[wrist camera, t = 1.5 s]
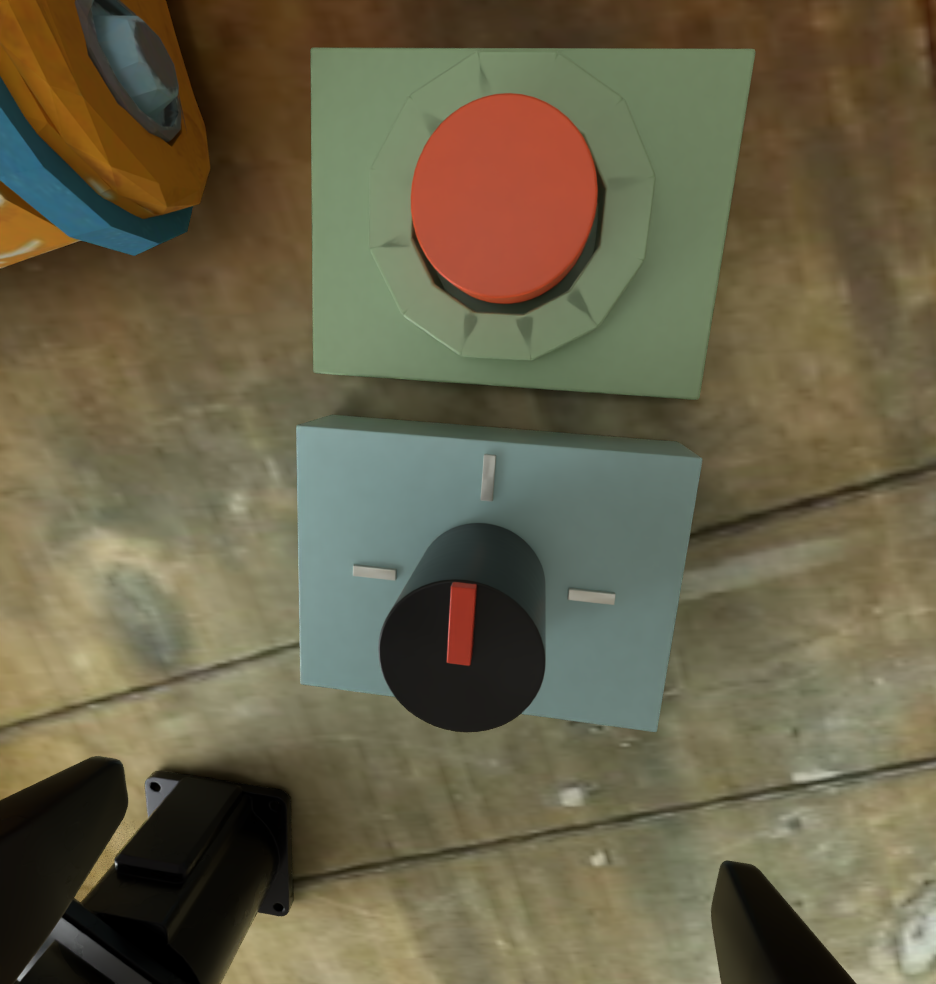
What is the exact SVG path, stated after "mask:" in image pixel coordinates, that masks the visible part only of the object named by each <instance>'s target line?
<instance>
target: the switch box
mask: <svg viewBox="0 0 936 984" xmlns="http://www.w3.org/2000/svg"><path fill="white" fill-rule="evenodd" d="M754 58H755V50H754V49H594V48H311V163H312V285H313V371H314V373H319V374H334V375H348V376H362V377H376V378H391V379H405V380H419V381H433V382H448V383H462V384H476V385H490V386H505V387H519V388H533V389H547V390H562V391H576V392H590V393H604V394H619V395H633V396H647V397H661V398H676V399H690V400H697V399H699V397H700V391H701V385H702V379H703V373H704V366H705V360H706V354H707V348H708V342H709V336H710V329H711V323H712V317H713V311H714V305H715V299H716V292H717V286H718V280H719V274H720V268H721V262H722V255H723V249H724V243H725V237H726V231H727V225H728V218H729V212H730V206H731V200H732V194H733V188H734V181H735V175H736V169H737V163H738V157H739V151H740V144H741V138H742V132H743V126H744V120H745V114H746V107H747V101H748V95H749V89H750V83H751V77H752V70H753V64H754ZM504 93H514V94H523V95H527V96H532V97H535V98H538V99H540V100H543V101H545V102H547V103H549V104H550V105H552V106H554V107H555V108H557V109H558V110H560V111H561V112H562V113H563V114H564V115H566V116H567V117H568V118H569V119H570V120H571V121H572V123H573V124H574V125H575V126H576V127H577V128H578V130H579V131H580V133H581V134H582V136H583V137H584V139H585V141H586V143H587V145H588V147H589V149H590V152H591V155H592V158H593V161H594V164H595V169H596V174H597V185H598V197H597V208H596V213H595V218H594V222H593V225H592V228H591V231H590V234H589V237H588V239H587V242H586V244H585V247H584V249H583V251H582V254H581V255H580V257H579V259H578V260H577V262H576V264H575V265H574V267H573V268H572V269H571V271H570V272H569V273H568V274H567V275H566V276H565V277H564V278H563V279H562V280H561V282H559V283H558V284H557V285H556V286H554V287H553V288H552V289H550V290H549V291H547V292H545V293H544V294H542V295H540V296H538V297H535V298H533V299H531V300H527V301H524V302H519V303H513V304H496V303H489V302H485V301H482V300H479V299H476V298H474V297H471V296H469V295H468V294H466V293H464V292H463V291H461V290H460V289H458V288H457V287H455V286H454V285H453V284H451V283H450V282H449V281H448V280H446V279H445V278H444V277H443V276H442V275H441V274H440V273H439V272H438V271H437V270H436V269H435V268H434V267H433V266H432V264H431V263H430V261H429V260H428V259H427V257H426V255H425V254H424V252H423V250H422V248H421V246H420V244H419V241H418V239H417V236H416V233H415V229H414V226H413V221H412V214H411V187H412V181H413V176H414V171H415V168H416V165H417V162H418V159H419V157H420V155H421V152H422V150H423V148H424V146H425V144H426V143H427V141H428V140H429V138H430V137H431V135H432V134H433V132H434V131H435V130H436V129H437V128H438V126H439V125H440V124H441V123H442V122H443V121H444V120H445V119H446V118H447V117H448V116H449V115H451V114H452V113H453V112H455V111H456V110H458V109H459V108H460V107H462V106H464V105H466V104H468V103H469V102H471V101H474V100H476V99H479V98H482V97H485V96H489V95H494V94H504Z"/></svg>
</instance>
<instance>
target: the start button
mask: <svg viewBox="0 0 936 984" xmlns="http://www.w3.org/2000/svg"><path fill="white" fill-rule="evenodd" d="M597 197H598V185H597V174H596V169H595V164H594V161H593V158H592V155H591V152H590V149H589V147H588V145H587V143H586V141H585V139H584V137H583V136H582V134H581V133H580V131H579V130H578V128H577V127H576V126H575V125H574V124H573V123H572V121H571V120H570V119H569V118H568V117H567V116H566V115H564V114H563V113H562V112H561V111H560V110H558V109H557V108H555V107H554V106H552V105H550V104H549V103H547V102H545V101H543V100H540V99H538V98H535V97H532V96H527V95H523V94H514V93H504V94H494V95H489V96H485V97H482V98H479V99H476V100H474V101H471V102H469V103H468V104H466V105H464V106H462V107H460V108H459V109H458V110H456V111H455V112H453V113H452V114H451V115H449V116H448V117H447V118H446V119H445V120H444V121H443V122H442V123H441V124H440V125H439V126H438V128H437V129H436V130H435V131H434V132H433V134H432V135H431V137H430V138H429V140H428V141H427V143H426V144H425V146H424V148H423V150H422V152H421V155H420V157H419V159H418V162H417V165H416V168H415V171H414V176H413V181H412V187H411V214H412V221H413V226H414V229H415V233H416V236H417V239H418V241H419V244H420V246H421V248H422V250H423V252H424V254H425V255H426V257H427V259H428V260H429V261H430V263H431V264H432V266H433V267H434V268H435V269H436V270H437V271H438V272H439V273H440V274H441V275H442V276H443V277H444V278H445V279H446V280H448V281H449V282H450V283H451V284H453V285H454V286H455V287H457V288H458V289H460V290H461V291H463V292H464V293H466V294H468V295H469V296H471V297H474V298H476V299H479V300H482V301H485V302H489V303H496V304H513V303H519V302H524V301H527V300H531V299H533V298H535V297H538V296H540V295H542V294H544V293H545V292H547V291H549V290H550V289H552V288H553V287H554V286H556V285H557V284H558V283H559V282H561V280H562V279H563V278H564V277H565V276H566V275H567V274H568V273H569V272H570V271H571V269H572V268H573V267H574V265H575V264H576V262H577V260H578V259H579V257H580V255H581V254H582V251H583V249H584V247H585V244H586V242H587V239H588V237H589V234H590V231H591V228H592V225H593V222H594V218H595V213H596V208H597Z"/></svg>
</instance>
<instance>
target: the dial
mask: <svg viewBox="0 0 936 984" xmlns="http://www.w3.org/2000/svg"><path fill="white" fill-rule="evenodd" d="M378 654H379V662H380V667H381V671H382V674H383V677H384V679H385V681H386V683H387V685H388V687H389V689H390V690H391V692H392V693H393V695H394V696H395V697H396V699H397V700H398V701H399V702H400V703H401V704H402V705H403V706H404V707H405V708H406V709H407V710H408V711H409V712H411V713H412V714H413V715H415V716H416V717H418V718H420V719H421V720H423V721H425V722H427V723H429V724H431V725H433V726H436V727H439V728H442V729H446V730H451V731H456V732H480V731H486V730H490V729H494V728H497V727H499V726H502V725H504V724H506V723H508V722H510V721H512V720H513V719H515V718H516V717H518V716H519V715H520V714H521V713H523V712H524V711H525V710H526V708H527V707H528V706H529V705H530V704H531V703H532V701H533V700H534V699H535V697H536V696H537V694H538V692H539V690H540V688H541V685H542V682H543V679H544V674H545V667H546V593H545V575H544V571H543V568H542V565H541V563H540V560H539V559H538V557H537V555H536V553H535V552H534V551H533V549H532V548H531V547H530V546H529V545H528V544H527V543H526V542H525V541H524V540H523V539H522V538H521V537H519V536H518V535H517V534H515V533H513V532H512V531H510V530H508V529H505V528H503V527H500V526H497V525H493V524H487V523H470V524H464V525H460V526H457V527H454V528H452V529H450V530H448V531H446V532H444V533H443V534H441V535H440V536H439V537H437V538H436V539H435V540H434V541H433V542H432V543H431V545H430V546H429V547H428V548H427V550H426V552H425V553H424V555H423V557H422V558H421V560H420V562H419V563H418V565H417V567H416V568H415V570H414V572H413V573H412V575H411V577H410V578H409V580H408V582H407V584H406V585H405V587H404V589H403V590H402V592H401V594H400V595H399V597H398V599H397V600H396V602H395V604H394V605H393V607H392V609H391V610H390V612H389V614H388V616H387V617H386V619H385V621H384V624H383V626H382V628H381V632H380V637H379V645H378Z"/></svg>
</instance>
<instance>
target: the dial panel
mask: <svg viewBox="0 0 936 984" xmlns="http://www.w3.org/2000/svg"><path fill="white" fill-rule="evenodd" d="M296 434H297V497H298V560H299V623H300V683H301V684H303V685H311V686H318V687H325V688H333V689H340V690H348V691H355V692H362V693H370V694H377V695H385V696H392V697H395V696H394V695H393V693H392V692H391V690H390V689H389V687H388V685H387V683H386V681H385V679H384V677H383V674H382V671H381V667H380V662H379V654H378V645H379V637H380V632H381V628H382V626H383V624H384V621H385V619H386V617H387V616H388V614H389V612H390V610H391V609H392V607H393V605H394V604H395V602H396V600H397V599H398V597H399V595H400V594H401V592H402V590H403V589H404V587H405V585H406V584H407V582H408V580H409V578H410V577H411V575H412V573H413V572H414V570H415V568H416V567H417V565H418V563H419V562H420V560H421V558H422V557H423V555H424V553H425V552H426V550H427V548H428V547H429V546H430V545H431V543H432V542H433V541H434V540H435V539H436V538H437V537H439V536H440V535H441V534H443V533H444V532H446V531H448V530H450V529H452V528H454V527H457V526H460V525H464V524H470V523H487V524H493V525H497V526H500V527H503V528H505V529H508V530H510V531H512V532H513V533H515V534H517V535H518V536H519V537H521V538H522V539H523V540H524V541H525V542H526V543H527V544H528V545H529V546H530V547H531V548H532V549H533V551H534V552H535V553H536V555H537V557H538V559H539V560H540V563H541V565H542V568H543V571H544V575H545V593H546V667H545V674H544V679H543V682H542V685H541V688H540V690H539V692H538V694H537V696H536V697H535V699H534V700H533V701H532V703H531V704H530V705H529V706H528V707H527V708H526V710H525V711H524V712H523V713H521V714H525V715H533V716H540V717H548V718H555V719H562V720H570V721H577V722H585V723H592V724H599V725H607V726H614V727H622V728H629V729H636V730H644V731H651V732H656V731H657V727H658V721H659V716H660V710H661V704H662V698H663V692H664V686H665V680H666V674H667V668H668V662H669V656H670V650H671V644H672V638H673V632H674V626H675V620H676V614H677V608H678V602H679V597H680V591H681V585H682V579H683V573H684V567H685V561H686V555H687V549H688V543H689V537H690V531H691V525H692V519H693V513H694V507H695V501H696V495H697V489H698V483H699V478H700V472H701V466H702V458H701V457H700V456H698V455H697V454H695V453H694V452H692V451H691V450H689V449H688V448H686V447H685V446H683V445H682V444H680V443H679V442H675V441H663V440H650V439H637V438H624V437H612V436H599V435H586V434H573V433H561V432H548V431H535V430H522V429H510V428H497V427H484V426H471V425H459V424H446V423H433V422H420V421H408V420H395V419H382V418H369V417H357V416H344V415H329V416H326V417H323V418H319V419H316V420H313V421H309V422H306V423H303V424H299V425H297V426H296Z"/></svg>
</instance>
